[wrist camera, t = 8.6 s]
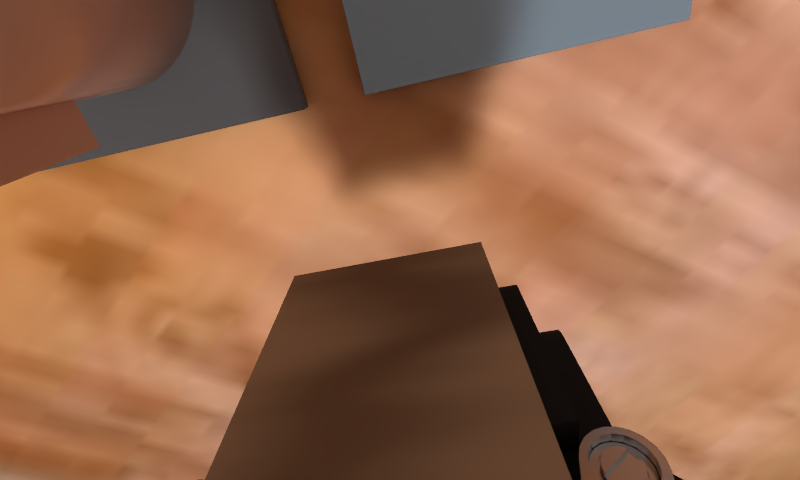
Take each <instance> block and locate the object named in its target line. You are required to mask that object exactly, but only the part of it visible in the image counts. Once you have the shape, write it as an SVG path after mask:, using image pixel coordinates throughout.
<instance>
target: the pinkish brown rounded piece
mask: <svg viewBox="0 0 800 480" xmlns="http://www.w3.org/2000/svg"><path fill="white" fill-rule="evenodd" d="M193 13H194V0H0V186H2V185H5V184H7V183H10V182H12V181H15V180H18V179H20V178H23V177H25V176H28V175H30V174H33V173H35V172H38V171H40V170H43V169H45V168H48V167H51V166H53V165H56V164H58V163H61V162H63V161H66V160H68V159H71V158H73V157H76V156H78V155H81V154H83V153H86V152H89V151H91V150H94V149H96V148H99V147H100V146H99V144H98V142H97V140H96V139H95V137H94V135H93V133H92V131H91V130H90V128H89V126H88V124H87V122H86V121H85V119H84V117H83V115H82V113H81V112H80V110H79V108H78V106H77V104H76V103H75V102H77V101H81V100H86V99H91V98H95V97H100V96H104V95H109V94H114V93H118V92H123V91H128V90H131V89H135V88H138V87H142V86H144V85H146V84H148V83H150V82H152V81H154V80H155V79H157V78H158V77H160V76H161V75H163V74H164V73H165V72H166V71H167V70H168V69H169V68H170V67H171V66H172V65H173V64H174V62H175V61H176V59H177V58H178V57H179V55H180V54H181V52H182V50H183V48H184V46H185V44H186V42H187V39H188V36H189V32H190V29H191V25H192V19H193Z"/></svg>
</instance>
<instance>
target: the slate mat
mask: <svg viewBox="0 0 800 480" xmlns="http://www.w3.org/2000/svg"><path fill="white" fill-rule="evenodd" d="M342 3H343V7H344V11H345V15H346V19H347V23H348V27H349V32H350V36H351V40H352V44H353V48H354V52H355V56H356V60H357V64H358V69H359V73H360V77H361V81H362V85H363V89H364V93H365V95H368V94H372V93H377V92H381V91H385V90H390V89H394V88H398V87H402V86H407V85H411V84H415V83H420V82H424V81H428V80H432V79H437V78H441V77H445V76H450V75H454V74H458V73H462V72H467V71H471V70H475V69H480V68H484V67H488V66H492V65H497V64H501V63H505V62H510V61H514V60H518V59H522V58H527V57H531V56H535V55H540V54H544V53H548V52H552V51H557V50H561V49H565V48H570V47H574V46H578V45H582V44H587V43H591V42H595V41H600V40H604V39H608V38H612V37H617V36H621V35H625V34H630V33H634V32H638V31H642V30H647V29H651V28H655V27H660V26H664V25H668V24H672V23H677V22H681V21H685V20H690V13H691V5H692V0H342Z"/></svg>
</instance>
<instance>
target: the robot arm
mask: <svg viewBox="0 0 800 480" xmlns="http://www.w3.org/2000/svg"><path fill="white" fill-rule="evenodd" d="M499 291H500V293H501V296H502V299H503V301H504V304H505V306H506V309H507V312H508V314H509V317H510V319H511V322H512V325H513V327H514V330H515V333H516V335H517V338H518V340H519V343H520V346H521V348H522V351H523V353H524V356H525V359H526V361H527V364H528V366H529V369H530V372H531V374H532V377H533V379H534V382H535V385H536V387H537V390H538V392H539V395H540V398H541V400H542V403H543V405H544V408H545V411H546V413H547V416H548V418H549V421H550V424H551V426H552V429H553V431H554V434H555V437H556V439H557V442H558V444H559V447H560V450H561V452H562V455H563V457H564V460H565V463H566V465H567V468H568V470H569V473H570V476H571V478H572V480H683V479H681V478H679V477H677V476H675V475H673V473H672V470H671V468H670V466H669V464H668V462H667V460H666V458H665V456H664V455H663V454H662V453H661V451H660V450H659V449H658V448H657V447H656V446H655V445H654V444H653V443H652V442H650V441H649V440H648V439H646V438H645V437H644V436H642V435H640V434H638V433H635V432H633V431H631V430H629V429H624V428H620V427H612V426H611V424H610V422H609V420H608V418H607V416H606V415H605V413H604V411H603V409H602V407H601V405H600V403H599V402H598V400H597V398H596V396H595V394H594V392H593V390H592V389H591V387H590V385H589V383H588V381H587V379H586V377H585V376H584V374H583V372H582V370H581V368H580V366H579V364H578V363H577V361H576V359H575V357H574V355H573V353H572V351H571V350H570V348H569V346H568V344H567V342H566V340H565V338H564V337H563V335H562V333H561V332H560V331H559V330H554V331H547V332H541V333H539V332H538V329H537V327H536V325H535V323H534V321H533V319H532V316H531V314H530V312H529V310H528V308H527V306H526V304H525V301H524V299H523V297H522V295H521V293H520V291H519V288H518V287H517V285H512V286H506V287H500V288H499ZM199 480H205V479H199Z"/></svg>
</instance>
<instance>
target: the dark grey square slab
mask: <svg viewBox="0 0 800 480" xmlns="http://www.w3.org/2000/svg"><path fill="white" fill-rule="evenodd" d="M75 103H76V104H77V106H78V108H79V110H80V112H81V113H82V115H83V117H84V119H85V121H86V122H87V124H88V126H89V128H90V130H91V131H92V133H93V135H94V137H95V139H96V140H97V142H98V144H99V146H100V147H99V148H96V149H94V150H91V151H89V152H86V153H83V154H81V155H78V156H76V157H73V158H71V159H68V160H66V161H63V162H61V163H58V164H56V165H53V166H51V167H48V168H45V169H43V170H47V169H51V168H55V167H60V166H64V165H68V164H72V163H77V162H81V161H85V160H90V159H94V158H98V157H102V156H107V155H111V154H115V153H120V152H124V151H128V150H132V149H137V148H141V147H145V146H150V145H154V144H158V143H162V142H167V141H171V140H175V139H180V138H184V137H188V136H192V135H197V134H201V133H205V132H210V131H214V130H218V129H222V128H227V127H231V126H235V125H240V124H244V123H248V122H252V121H257V120H261V119H265V118H270V117H274V116H278V115H282V114H287V113H291V112H295V111H300V110H304V109H306V108H307V107H308V105H307V101H306V98H305V95H304V92H303V89H302V86H301V82H300V79H299V76H298V73H297V70H296V66H295V63H294V60H293V57H292V54H291V51H290V47H289V44H288V41H287V38H286V35H285V31H284V28H283V25H282V22H281V19H280V16H279V12H278V9H277V6H276V3H275V0H194V13H193V19H192V25H191V29H190V32H189V36H188V39H187V42H186V44H185V46H184V48H183V50H182V52H181V54H180V55H179V57H178V58H177V59H176V61H175V62H174V64H173V65H172V66H171V67H170V68H169V69H168V70H167V71H166V72H165V73H164V74H163V75H161V76H160V77H158V78H157V79H155V80H154V81H152V82H150V83H148V84H146V85H144V86H142V87H138V88H135V89H131V90H128V91H123V92H118V93H114V94H109V95H104V96H100V97H95V98H91V99H86V100H81V101H77V102H75ZM40 171H42V170H40Z"/></svg>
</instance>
